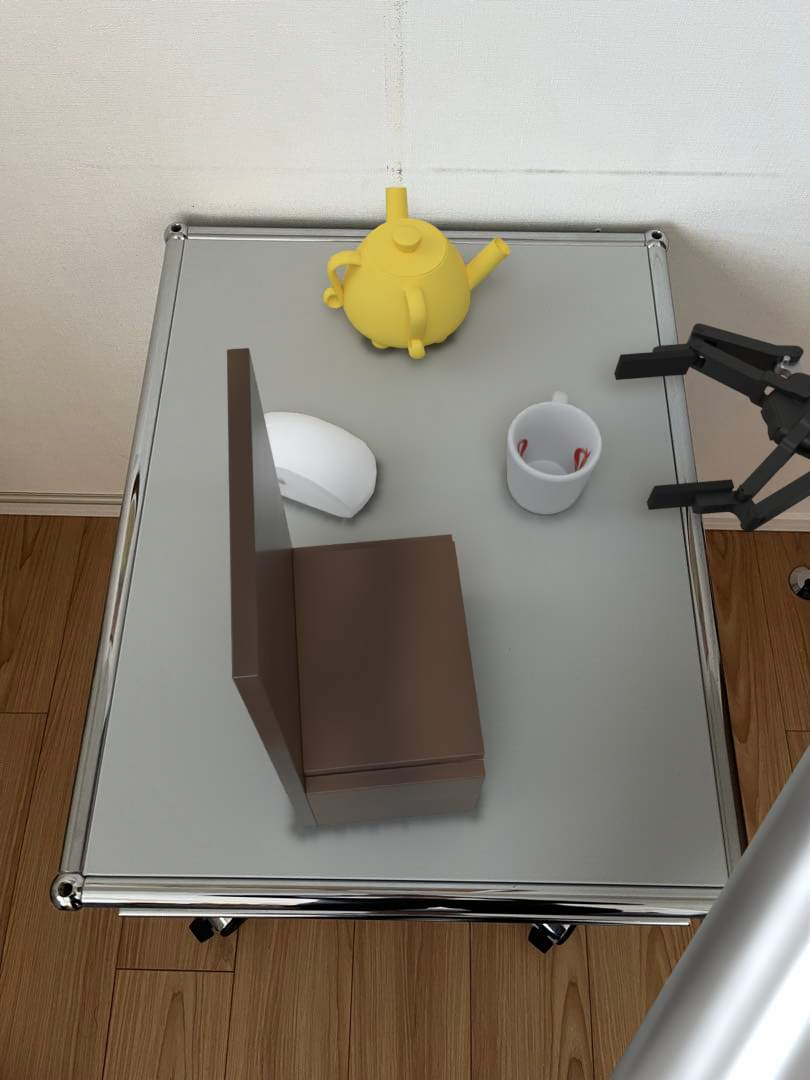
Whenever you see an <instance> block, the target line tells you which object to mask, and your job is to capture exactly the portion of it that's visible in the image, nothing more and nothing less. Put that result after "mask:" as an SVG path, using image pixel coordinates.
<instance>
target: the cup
mask: <svg viewBox="0 0 810 1080" xmlns="http://www.w3.org/2000/svg"><path fill="white" fill-rule="evenodd" d="M569 403H570V395H569V393H568V392H566V391H562V390H556V391H554V392H553V393H552V396H551V401H541V402H538V403H534V404H532V405H530V406H527V407H526V408H524V409H523V410H521V411H520V412H519V413H518V414H516V416H515V417H514V418H513V420H512V421H511V423H510V425H509V427H508V430H507V435H506V481H507V482H506V483H507V486H508V490H509V492H510V494H511V496H512V498H513V500H514V501H515V502H516V503H517V504H518V505H519V506H521V507H522V508H523V509H524V510H527V511H528V512H531V513H534V514H538V515H553V514H558V513H561V512H563V511H565V510H567V509H569V508H570V507H571V506H572V505H573V504H574V503H575V502H576V501H577V499H578V498H579V496H580V495H581V493H582V492H583V490H584V489H585V486H586V485H587V483H588V481H589V479H590V478H591V476H592V474H593V473H594V470H595V468H596V467H597V465H598V463H599V461H600V459H601V457H602V453H603V438H602V437H603V436H602V432H601V431H600V428H599V426H598V425H597V423H596V422H595V421H594V419H593V418H592V417H591V416H590V415H589V414H588V413H587V412H585V410H582V409H581V408H579V407H577V406H575V405H572V404H569Z"/></svg>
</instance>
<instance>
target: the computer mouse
mask: <svg viewBox="0 0 810 1080" xmlns="http://www.w3.org/2000/svg"><path fill="white" fill-rule="evenodd" d="M263 414H264V418H265V423H266V428H267V432H268V437H269V441H270V446H271V450H272V455H273V460H274V464H275V469H276V473H277V478H278V483H279V487H280V492H281V496H283V497H285V498H288V499H291V500H293V501H296V502H299V503H301V504H304V505H306V506H309V507H311V508H315V509H316V510H320V511H322V512H325V513H328V514H330V515H334V516H336V517H340V518H347V519H352V518H353V517H354V516H355V515H356V514H358V513H359V512H360V511H361V510H362V509H363V508H364V507H365V505H366V504H367V503H368V502H369V500H370V499H371V498H372V496H373V494H374V492H375V488H376V482H377V474H378V472H377V471H378V470H377V460H376V457H375V456H374V453H373V452H372V451H371V449H370V447H369V446H367V445H368V444H366V442H365V441H363V440H362V439H361V438H359V437H357V436H355V435H353V434H352V433H350V432H348V431H347V430H345V429H343V428H342V427H340V426H337V425H335V424H333V423H331V422H328V421H325V420H323V419H321V418H319V417H316V416H312V415H309V414H303V413H299V412H298V413H297V412H292V411H291V412H290V411H289V412H288V411H272V412H270V411H269V412H266V413H263Z"/></svg>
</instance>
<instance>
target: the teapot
mask: <svg viewBox="0 0 810 1080" xmlns="http://www.w3.org/2000/svg"><path fill="white" fill-rule="evenodd" d="M407 191H408V190H407V187H406V186H392V187H390V186H389V187H385V222H383V223H381V224H380V225H378V226H377V227H376V228H374V229H373V230H372V231H371V232H369V234H367V235H366V237H364V239H363V240H362V241H361V242H360V243H359V244H358V246H357V247H356V249H355V250H350V249H349V250H342V251H339V252H337V253H335V254H333V255H332V256H330V258H329V260H328V262H327V266H326V273H327V278H328V280H329V283H330V284H331V286H330V287H327V288H326V289H325V290H324V291H323V295H322V300H323V302H324V304H325V305H326V306H327V307H329V308H331V309H335V310H337V309H341V308H343V310H344V313H345V316H346V317H347V319H348V320H349V322H350V323H351V324H352V326H353V328H355V329H356V330H357V332H359V333H360V334H362V335H363V336H364V337H366V338H368V339H369V340H371V343H372V345H373V346H374V347H375V348H378V349H383V350H384V349H388V348H396V349H408V350H407V351H408V354H409V355H410V357H411V358H412V359H415V360H420V359H422V358H425V356H426V351H425V347H426V346H429V345H432V344H439V343H443V342H444V341H446V339H447V338H448V337H449V336H450V335H451V334H453V333H454V332H455V331H456V330H457V329H458V328H459V327H460V325H461V324H462V323H463V322H464V320H465V318H466V316H467V314H468V312H469V309H470V306H471V291H472V290H474V289H475V288H476V287H477V286H478V285H479V284H480V283H481V282H482V281H484V280H485V278H486V277H487V276H488V275H489V274H490V273H491V272H492V271H494V270H495V268H497V267H498V266H499V265H500V264H501V263H502V262H503V261H504V260H505V259H506V258H507V257H509V255H510V254H511V250H510V247H509V245H508V244H507V243H506V242H505V241H504V240H503V239H502V238H500V237H498V236H496V237H494V238H493V239H492V240H490V242H489V243H488V244H487V245H486V246H485V247H484V248H482V250H481V251H479V252H478V254H476V256H474V257H473V258H472V259H471V260H470V261H469V262H468V263H467V264H466V263H465V262H464V260H463V258H462V256H461V254H460V252H459V251H458V250H457V248H456V246H455V245H454V244H453V243H452V242H451V240H450V239H449V238H448V237H447V236H446V235H445V234H444V232H442V231H441V230H440V229H438V228H437V227H436V226H434V225H433V224H431V223H429V222H427V221H425V220H422V219H418V218H409V208H408V194H407V193H408V192H407ZM343 266H346V267H345V271H344V274H343V277H342V278H343V279H342V282H341V280H340V279H339V276H338V273H337V271H336V270H337V269H338V268H340V267H343Z"/></svg>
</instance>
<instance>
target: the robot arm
mask: <svg viewBox="0 0 810 1080" xmlns="http://www.w3.org/2000/svg"><path fill="white" fill-rule="evenodd" d="M803 355H804V348H802V347H801V346H799V345H793V344H792V345H790V344H789V345H788V344H787V345H783V344H774V343H770V342H768V341H763V340H760V339H757V338H753V337H749V336H746V335H743V334H739V333H736V332H732V331H729V330H726V329H721V328H718V327H715V326H711V325H708V324H704V323H700V322H698V323H695V324H694V325H693V327H692V329H691V331H690V333H689V336H688V339H687V341H686V343H678V344H677V343H675V344H674V343H673V344H665V345H663V344H661V345H657V346H654V347H653V349H652V351H649V352H636V353H635V352H634V353H624V354H622V353H621V354H620V355H619V357H618V360H617V363H616V367H615V369H614V373H613V374H614V378H615V381H620V380H621V381H622V380H623V381H624V380H635V379H646V378H647V379H649V378H660V377H661V378H662V377H673V376H685V375H687V373H688V371H689V369H691V370H694V371H696V372H698V373H700V374H702V375H705V376H706V377H708V378H710V379H712V380H714V381H716V382H718V383H720V384H722V385H724V386H726V387H728V388H730V389H732V390H734V391H735V392H738V393H740V394H742V395H743V396H745V397H747V398H748V399H749V401H750V403H751V404H753V405H755V406H757V407H758V408H761V410H760V416H761V418H762V420H763V421H764V423H765V424H766V426H767V436H768V439H769V442H770V441H773V442H774V443H775V444H776V445H777V446H776V447H775V448H774V449H773V450H772V451H771V452H770V453H769V455H768V456H767V457H766V458H765V459H764V460H763V461H762V462H761V463H759V465H758V467H756V468H755V470H753V472H752V473H751V474H750V475H749V476H748V477H746V479H745V480H744V481H743V482H742V483H741V484H739V485H738V487H737V489H736V490H734V488H735V485H734V481H733V479H732V478H731V479H718V480H707V481H695V482H684V483H683V482H682V483H671V484H670V483H669V484H658V485H654V486H653V488H652V490H651V492H650V494H649V496H648V498H647V500H646V505H647V510H648V511H652V510H665V509H676V508H687V507H690V508H691V512H692V513H693V514H696V515H708V514H709V515H710V514H721V513H730V514H733V515H735V517H736V518H737V519H738V521H739V522H740V524H739V525H740V528H741V530H742V531H743V532H745V533H751V532H753V531H755V530H757V529H759V528H760V527H762V526H763V525H765V524H766V523H768V522H770V521H772V520H773V519H775V518H776V517H778V516H779V515H781V514H783V513H784V512H786V511H788V510H789V509H790V508H792V507H794V506H796V505H797V504H799V503H801V502H803V500H805V499H807V498H809V497H810V470H809V471H807V472H806V473H804V474H802V475H801V476H799V477H797V478H796V479H794V480H793V481H791V482H789V483H788V484H786V485H784V486H783V487H781V488H779V489H778V490H776V491H775V492H773V493H771V494H770V495H768V496H766V497H765V498H763V499H762V500H760V501H758V502H756V503H755V501H754V500H753V499H754V498H755V497H756V496H757V495H758V494H759V492H760V491H761V490H762V489H763V488H764V487H765V486H766V485H767V484H768V482H770V481H771V480H772V478H773V477H774V476H775V475H776V474H777V473H778V472H779V471H780V470H781V469H782V468H783V467H785V465H786V464H787V463H788V462H789V461H790V460H791V459H792V457H793V456H794V455H795V454H796V455H798V456H801V457H803V458H805V459H808V460H810V374H807V373H804V372H803V368H802V364H801V358H802V357H803ZM768 387H769V388H772V389H773V390H771V391H770V392H769V394H767V393H766V392H765V391H766V389H767V388H768ZM635 1031H636V1032H635V1033H634V1034H633V1036H632V1038H631V1040H630V1041H629V1043H628V1044H627V1046H626V1047H625V1048H624V1051H623V1052H622V1054H621V1056H620V1058H619V1059H618V1061H617V1063H616V1065H615V1066H614V1068H613V1070H612V1071H611V1072H610V1074H609V1076H608V1078H607V1079H606V1080H810V743H809V744H808V746H807V747H806V749H805V751H804V752H803V754H802V756H801V758H800V760H799V761H798V763H797V764H796V766H795V767H794V769H793V770H792V773H791V774H790V776H789V777H788V779H787V781H786V782H785V784H784V786H783V787H782V789H781V791H780V792H779V794H778V796H777V797H776V799H775V801H774V803H773V804H772V806H771V807H770V809H769V811H768V812H767V814H766V816H765V817H764V819H763V821H762V822H761V824H760V825H759V827H758V829H757V830H756V832H755V833H754V835H753V838H752V839H751V840H750V842H749V844H748V845H747V847H746V849H745V850H744V852H743V854H742V855H741V857H740V858H739V861H738V862H737V864H736V865H735V867H734V869H733V870H732V872H731V873H730V876H729V877H728V878H727V880H726V882H725V883H724V886H723V887H722V889H721V891H720V892H719V894H718V895H717V897H716V899H715V900H714V901H713V904H712V905H711V907H710V908H709V910H708V912H707V914H706V915H705V917H704V919H703V920H702V921H701V924H700V925H699V926H698V928H697V930H696V932H695V933H694V935H693V937H692V938H691V940H690V941H689V943H688V945H687V947H686V948H685V950H684V951H683V953H682V955H681V957H680V958H679V960H678V962H677V963H676V965H675V967H674V968H673V970H672V972H671V973H670V975H669V976H668V978H667V980H666V982H665V983H664V985H663V987H662V988H661V990H660V991H659V993H658V995H657V996H656V998H655V999H654V1001H653V1003H652V1004H651V1007H650V1008H649V1010H648V1011H647V1013H646V1014H645V1016H644V1018H643V1020H642V1021H641V1023H640V1025H639V1026H638V1028H637V1030H635Z"/></svg>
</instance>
